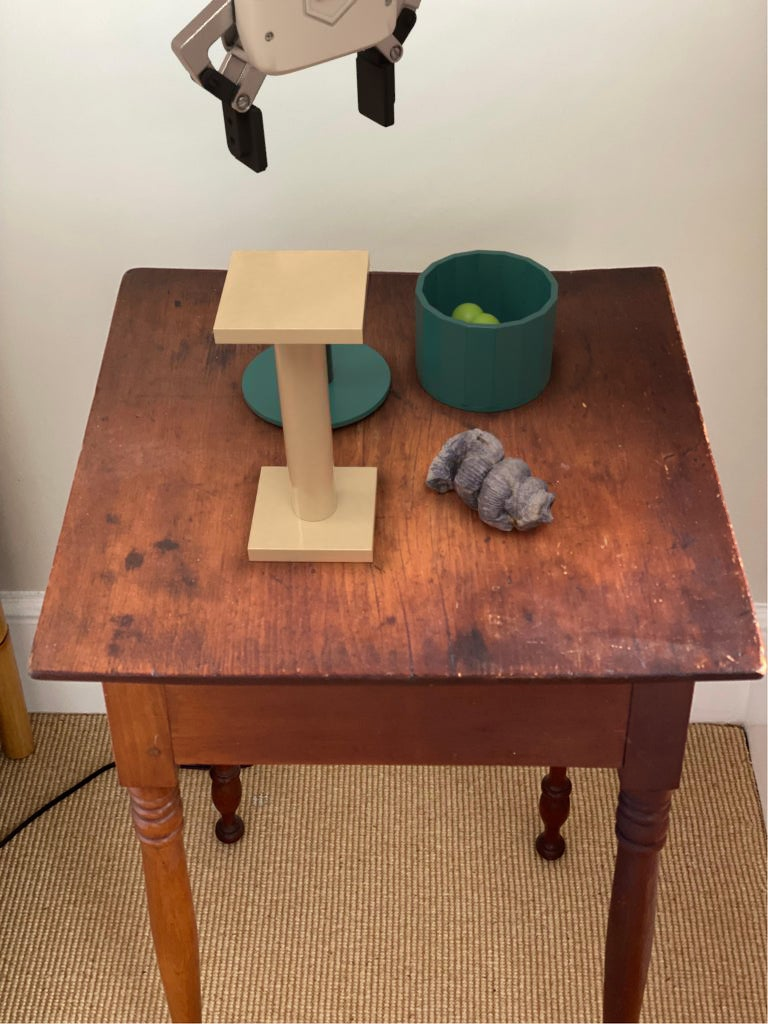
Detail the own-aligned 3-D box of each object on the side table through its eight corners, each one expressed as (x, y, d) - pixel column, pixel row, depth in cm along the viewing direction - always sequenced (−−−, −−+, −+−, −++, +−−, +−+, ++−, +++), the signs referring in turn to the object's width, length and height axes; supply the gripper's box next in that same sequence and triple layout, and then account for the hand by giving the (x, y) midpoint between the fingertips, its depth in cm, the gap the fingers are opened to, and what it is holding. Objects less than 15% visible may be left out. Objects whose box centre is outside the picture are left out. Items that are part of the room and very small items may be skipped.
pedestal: (378, 479, 78) (369, 249, 66) (372, 563, 73) (362, 328, 60) (262, 478, 79) (232, 250, 66) (248, 561, 73) (212, 328, 60)
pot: (577, 376, 86) (587, 292, 81) (475, 430, 82) (478, 345, 77) (489, 317, 92) (493, 235, 87) (390, 364, 88) (387, 281, 83)
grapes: (530, 373, 86) (534, 324, 83) (485, 397, 84) (487, 347, 81) (476, 337, 89) (478, 288, 86) (431, 359, 87) (431, 310, 84)
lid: (421, 396, 85) (420, 321, 80) (297, 457, 80) (289, 382, 76) (334, 329, 91) (330, 257, 87) (215, 382, 87) (203, 308, 82)
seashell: (432, 489, 79) (545, 562, 74) (400, 467, 75) (518, 544, 70) (474, 425, 79) (589, 494, 74) (444, 399, 74) (566, 471, 69)
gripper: (184, -117, 55) (228, 206, 66) (462, -179, 62) (457, 122, 74) (114, -148, 59) (166, 161, 71) (381, -202, 66) (388, 86, 78)
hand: (315, 141), depth 72 cm, fingers open, 9 cm apart
